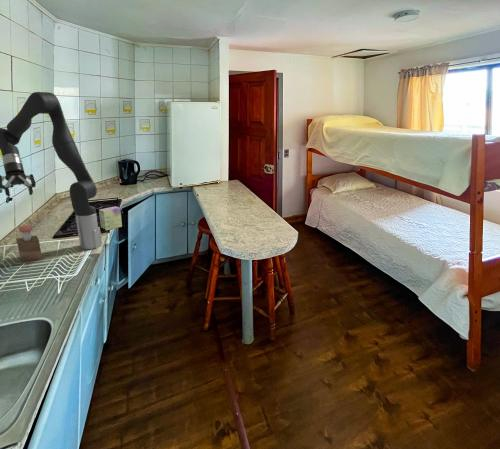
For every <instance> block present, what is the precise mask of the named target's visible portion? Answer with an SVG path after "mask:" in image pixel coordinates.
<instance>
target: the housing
mask: <svg viewBox="0 0 500 449" xmlns="http://www.w3.org/2000/svg"><path fill="white" fill-rule="evenodd" d="M31 239H32V240H29V241H24V240H23V237H20V238H19V237H18V238H16V244H17V249H18V253H19V258H20V261H21V263H27V262H32V261H38V260H42V259H43V255H42V250H41V249H42V248H41V244H40V240H39V238H38V235H33V236H32V235H31Z"/></svg>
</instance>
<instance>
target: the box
mask: <svg viewBox="0 0 500 449" xmlns="http://www.w3.org/2000/svg"><path fill="white" fill-rule="evenodd" d="M98 214H99V222H100V229H101V228H103V229H105V230H104V231H109V230H113V229H117V228H123V222H122V212H121V207H119V206H111V207H106V208H105V207H104V208H101V209H98ZM103 229H102V230H103Z"/></svg>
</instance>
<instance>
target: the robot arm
mask: <svg viewBox="0 0 500 449" xmlns="http://www.w3.org/2000/svg"><path fill="white" fill-rule="evenodd" d="M39 114H43V115H44V114H46V115H47V114H48V115H49V118H50V120H51V124H52V135H51V136H52V137H51V143H52V147H53V148H54V151H55V153H56V155H57V157H58V159H59V160H60V161H61V162H62V163H63V164H64V165H65V166H66V167H67V168H68V169H69V170H70V171H71V172H72V173H73V176H75V178H76V182H73V183H72V184H70V187H69V196H70V202H71V205H72V206H71V207H72V209H73V211H74V214H75V220H76V221H75V222H76V227H77V228H76V229H77V234H78V241H79V242H78V243H79V245H80V246H79V248H80V249H82V250H94V249H98V248H99V247H100V246H102V244H103V242H102V234H101V226H98V225H99V224H98V216H97V209H96V207H95V206H93V205H90V202H89V200H90V199H93V198H94V197H96V195H97V193H98V191H97V187H96V184H95V182H94V179H93V178H92V176H91V175H90V173H89V171H88V169H87V168H86V164H85V163H84V160H83V158H82V156H81V155H80V152H79V150H78V146H77V145H76V141H75V140H74V138H73V136H72V134H71V133H72V132H71V131H70V129H69V125H68V124H67V122H66V118H65V114H64V111H63V109H62V106H61V102H60V100H59V98H58V97H57V96H56V94H55V93H53V92H49V91H48V92H47V91H34V92H32V93H31V94H30V95H29V96H28V97H27V99H26V101H25V102H24V103H23V106H22V107H21V108H20V110H19V112H18V113H17V114H16V115H15V116H14V117H13V118H12V119H11V120H10V121H9V122H7V125H6V128H3V127H0V152H1V156H2V163H3V164H2V165H3V168H4V173H5V176H3V175H0V190H4V192H5V195H6V196H7V197H11V193H10V192H11V191H10V189H9V188H10V187H11V186H12V185H13V186H16V185H17V186H20V185H21V186H22V185H23V186H24V187H27V189H28V193H29V196H32V195H33V194H34V191H33V188H35V187H36V184H37V183H36V180H35V178H34V174H29V175H26V173H25V169H24V166H23V161H22V159H21V155H20V150H19V149H18V146H16V145H19V143H20V141H21V138H22V136H23V134H24V133H26V131H28V130H29V129H30V128H31V126H32V123H33V121H32V120H33V118H35V116H37V115H39ZM27 179H28V180H29V181H30V182H29V181H28V180H27ZM5 180H6V181H7V182H6V183H5V184H4V183H3V182H4V181H5Z"/></svg>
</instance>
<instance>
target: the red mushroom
mask: <svg viewBox="0 0 500 449" xmlns="http://www.w3.org/2000/svg"><path fill="white" fill-rule="evenodd" d="M31 231H33V226H32V225H29V224H27V225H20V226H18V232H19V233H21V235H22V238H23V240H24V241H29V240H32V239H31V236H32V234H31Z"/></svg>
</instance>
